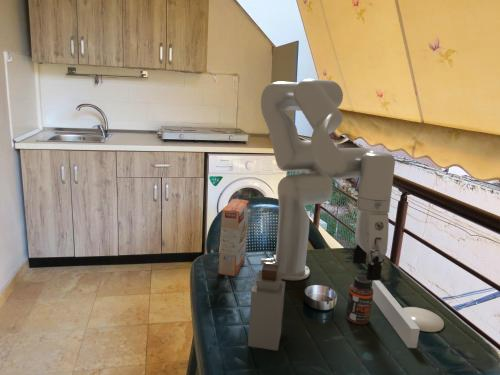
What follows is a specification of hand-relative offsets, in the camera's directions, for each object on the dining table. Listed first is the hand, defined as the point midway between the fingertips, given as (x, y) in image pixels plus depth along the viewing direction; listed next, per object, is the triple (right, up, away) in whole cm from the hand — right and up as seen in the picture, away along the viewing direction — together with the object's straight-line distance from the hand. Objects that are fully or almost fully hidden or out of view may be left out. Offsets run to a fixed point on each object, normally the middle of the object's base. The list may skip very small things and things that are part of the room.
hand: (365, 271), depth 102 cm
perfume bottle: (-25, -15, -7) cm, 30 cm away
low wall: (+8, -13, +5) cm, 16 cm away
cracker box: (-34, -5, +30) cm, 46 cm away
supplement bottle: (-1, -13, +4) cm, 14 cm away
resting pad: (+16, -14, +5) cm, 22 cm away
